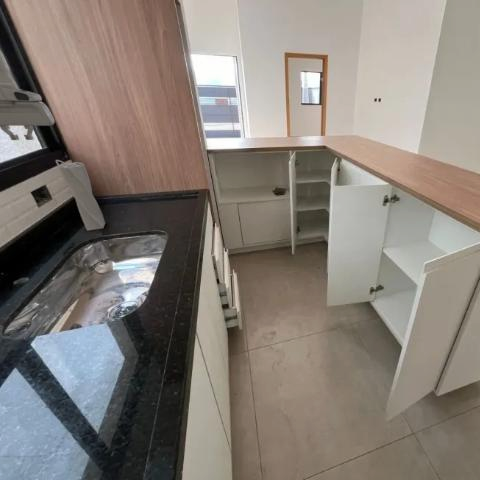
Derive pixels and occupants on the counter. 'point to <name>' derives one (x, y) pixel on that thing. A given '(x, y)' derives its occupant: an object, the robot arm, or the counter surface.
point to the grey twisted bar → (82, 194)
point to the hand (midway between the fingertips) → (22, 139)
